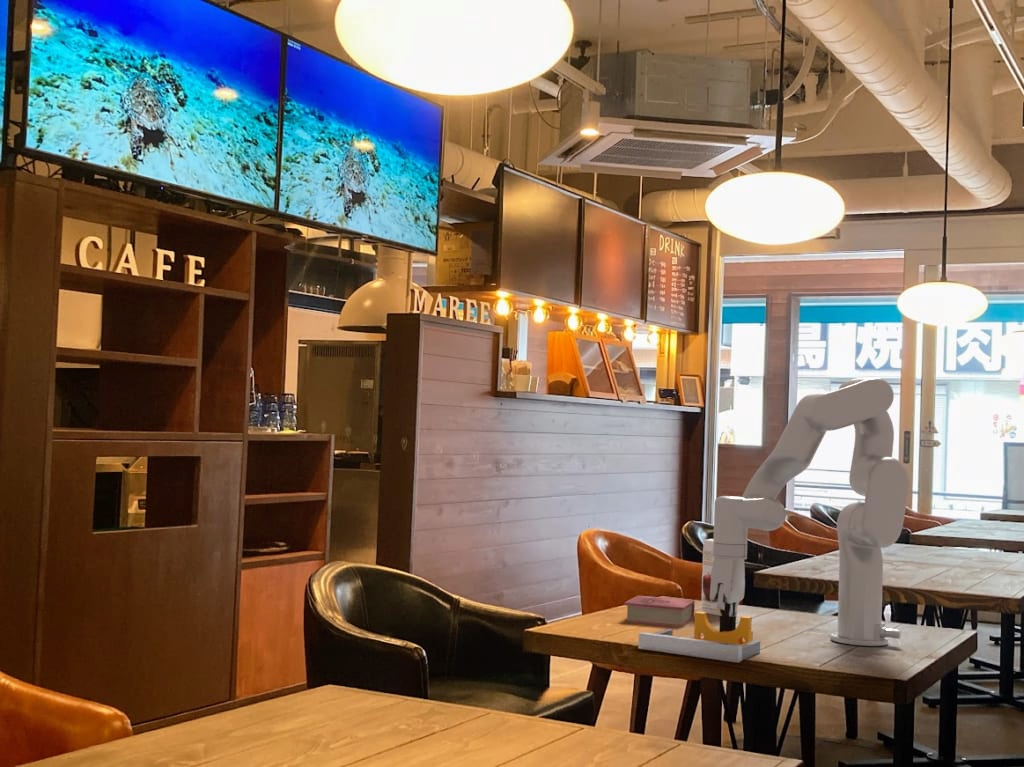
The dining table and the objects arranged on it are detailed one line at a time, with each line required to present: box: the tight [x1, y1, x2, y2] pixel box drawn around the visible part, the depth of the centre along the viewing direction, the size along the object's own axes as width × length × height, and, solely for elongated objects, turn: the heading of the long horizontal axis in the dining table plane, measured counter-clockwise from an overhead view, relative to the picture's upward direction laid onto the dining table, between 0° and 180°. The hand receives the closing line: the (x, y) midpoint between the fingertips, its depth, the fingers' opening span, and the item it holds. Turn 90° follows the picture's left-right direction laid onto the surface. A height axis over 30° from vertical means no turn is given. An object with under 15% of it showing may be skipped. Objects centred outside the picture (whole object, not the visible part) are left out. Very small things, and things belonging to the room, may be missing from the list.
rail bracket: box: [637, 628, 761, 664], centre depth 243 cm, size 22×14×3 cm, turn 59°
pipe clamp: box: [693, 610, 754, 645], centre depth 253 cm, size 12×4×6 cm, turn 66°
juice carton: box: [701, 538, 739, 617], centre depth 297 cm, size 8×9×19 cm
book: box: [623, 595, 696, 628], centre depth 283 cm, size 14×15×5 cm
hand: (727, 633), depth 257 cm, fingers closed
